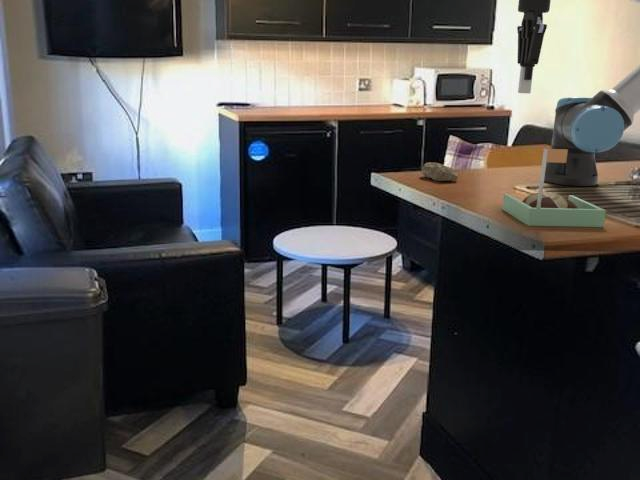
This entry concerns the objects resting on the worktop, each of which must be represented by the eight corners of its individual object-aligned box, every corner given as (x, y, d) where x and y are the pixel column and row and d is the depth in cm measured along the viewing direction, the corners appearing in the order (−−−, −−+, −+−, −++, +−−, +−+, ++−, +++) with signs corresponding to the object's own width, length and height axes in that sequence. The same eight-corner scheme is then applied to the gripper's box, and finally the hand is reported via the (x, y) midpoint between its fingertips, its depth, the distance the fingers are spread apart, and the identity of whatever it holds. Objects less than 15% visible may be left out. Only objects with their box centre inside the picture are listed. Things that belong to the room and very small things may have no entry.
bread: (514, 210, 152) (516, 188, 151) (564, 212, 152) (567, 190, 151) (530, 222, 141) (533, 199, 140) (584, 224, 142) (588, 200, 140)
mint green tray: (570, 210, 153) (580, 141, 149) (603, 227, 139) (614, 151, 135) (502, 209, 152) (510, 139, 148) (527, 225, 138) (537, 148, 133)
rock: (440, 184, 181) (441, 168, 180) (415, 176, 191) (417, 161, 189) (462, 182, 185) (464, 166, 183) (437, 175, 194) (439, 160, 193)
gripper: (510, -4, 174) (500, 91, 180) (530, -8, 161) (519, 94, 167) (539, -2, 174) (528, 92, 181) (561, -6, 162) (548, 95, 168)
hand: (524, 93), depth 174 cm, fingers closed
